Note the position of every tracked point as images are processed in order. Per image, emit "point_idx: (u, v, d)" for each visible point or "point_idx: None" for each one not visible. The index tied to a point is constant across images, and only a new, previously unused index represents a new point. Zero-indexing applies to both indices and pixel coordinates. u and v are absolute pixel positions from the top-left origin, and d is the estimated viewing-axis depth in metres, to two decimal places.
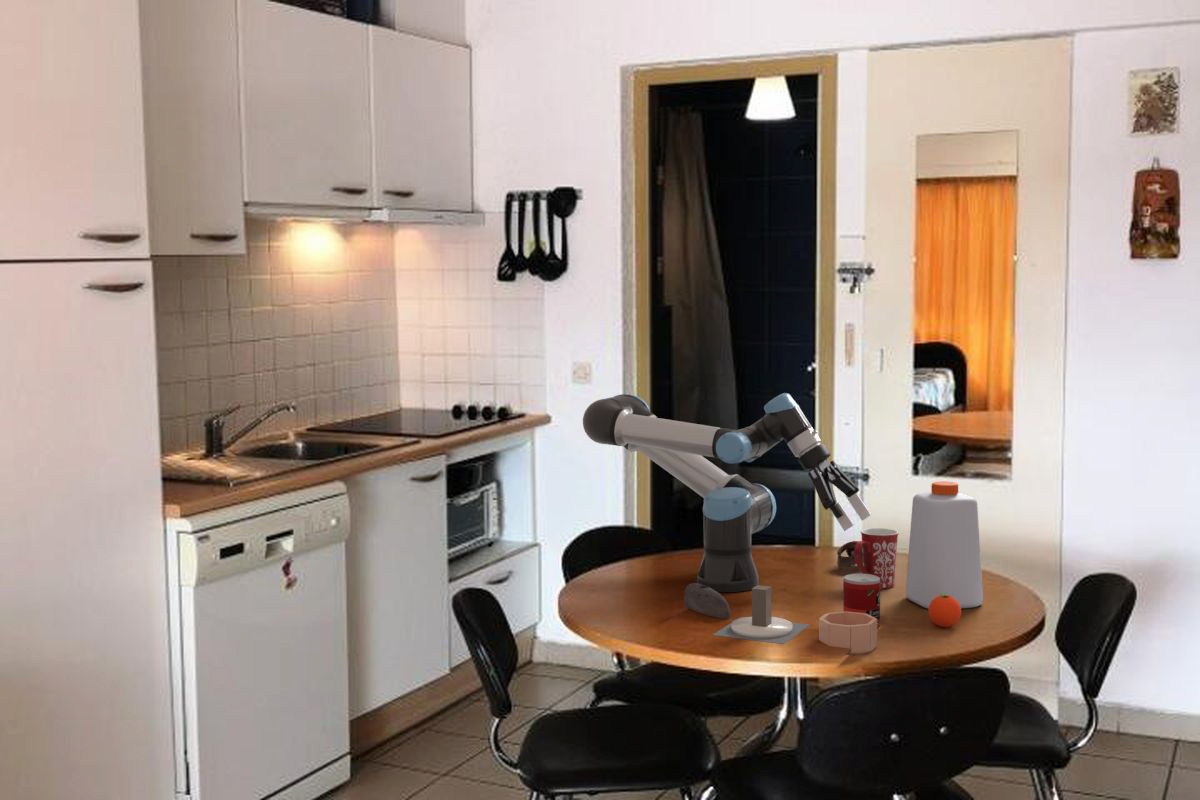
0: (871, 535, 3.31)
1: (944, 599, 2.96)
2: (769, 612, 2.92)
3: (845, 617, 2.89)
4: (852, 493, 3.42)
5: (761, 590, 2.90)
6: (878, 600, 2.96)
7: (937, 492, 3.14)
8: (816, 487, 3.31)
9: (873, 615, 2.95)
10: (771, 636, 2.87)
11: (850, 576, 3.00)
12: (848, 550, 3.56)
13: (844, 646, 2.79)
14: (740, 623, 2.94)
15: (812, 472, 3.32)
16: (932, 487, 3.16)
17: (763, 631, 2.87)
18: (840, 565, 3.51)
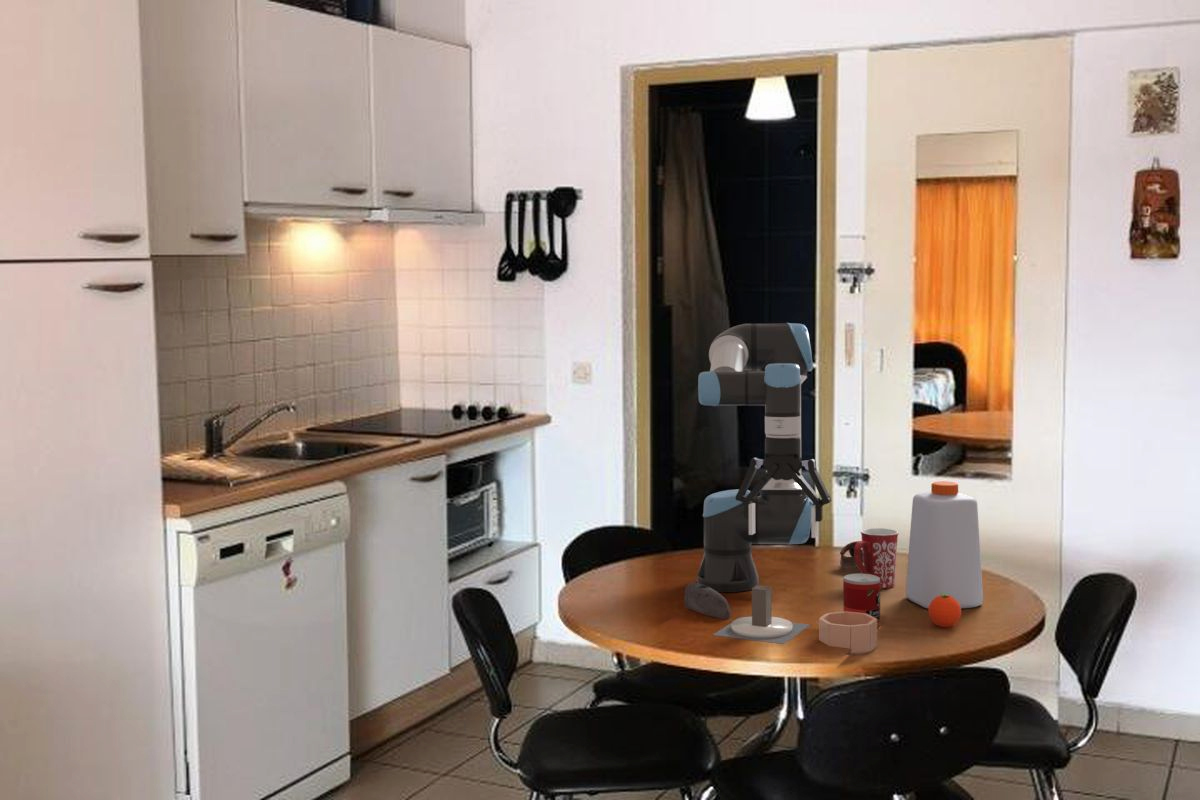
0: (871, 535, 3.31)
1: (944, 599, 2.96)
2: (769, 612, 2.92)
3: (845, 617, 2.89)
4: None
5: (761, 590, 2.90)
6: (878, 600, 2.96)
7: (937, 492, 3.14)
8: None
9: (873, 615, 2.95)
10: (771, 636, 2.87)
11: (850, 576, 3.00)
12: (851, 550, 3.56)
13: (844, 646, 2.79)
14: (740, 622, 2.94)
15: None
16: (932, 487, 3.16)
17: (763, 631, 2.87)
18: (843, 565, 3.51)
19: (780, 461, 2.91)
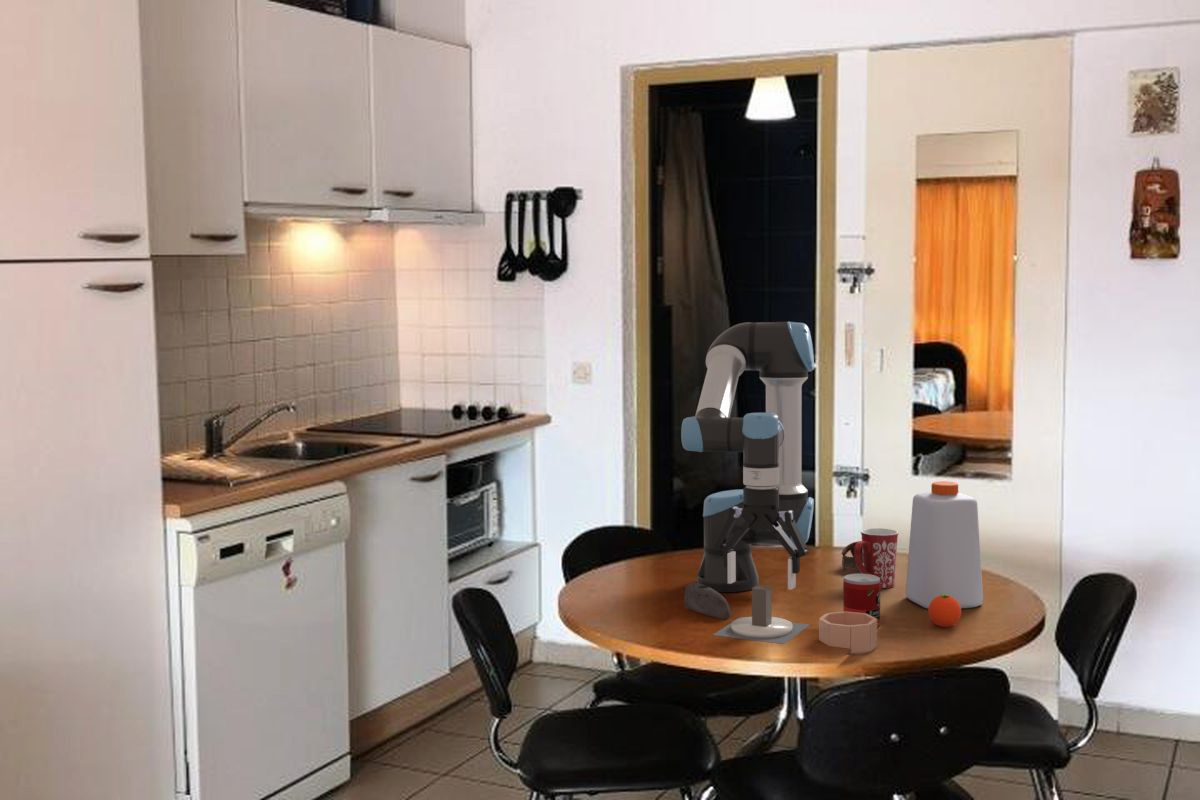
0: (871, 535, 3.31)
1: (944, 599, 2.96)
2: (769, 612, 2.92)
3: (845, 617, 2.89)
4: None
5: (761, 590, 2.90)
6: (878, 600, 2.96)
7: (937, 492, 3.14)
8: None
9: (873, 615, 2.95)
10: (771, 636, 2.87)
11: (850, 576, 3.00)
12: (852, 550, 3.56)
13: (844, 646, 2.79)
14: (740, 622, 2.94)
15: None
16: (932, 487, 3.16)
17: (763, 631, 2.87)
18: (845, 565, 3.51)
19: (758, 511, 2.89)
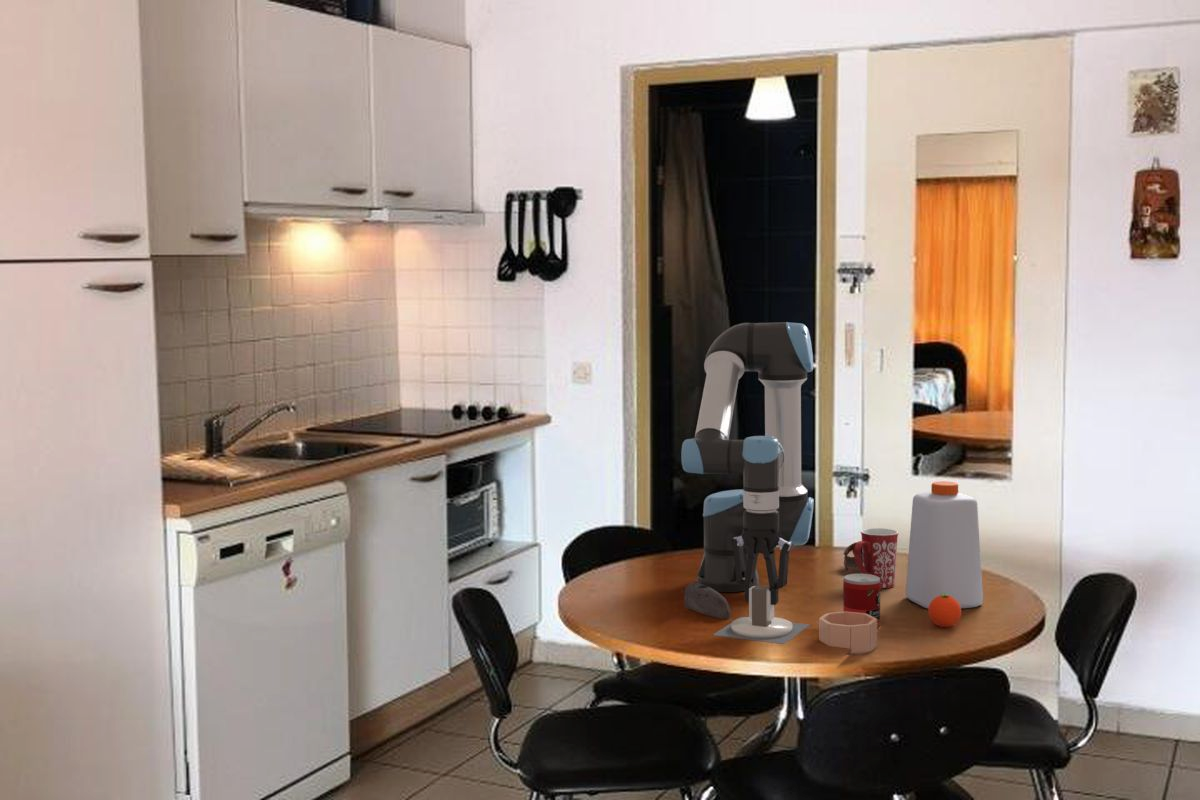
0: (871, 535, 3.31)
1: (944, 599, 2.96)
2: None
3: (845, 617, 2.89)
4: None
5: (761, 590, 2.90)
6: (878, 600, 2.96)
7: (937, 492, 3.14)
8: None
9: (873, 615, 2.95)
10: (771, 636, 2.87)
11: (850, 576, 3.00)
12: None
13: (844, 646, 2.79)
14: (740, 622, 2.94)
15: None
16: (932, 487, 3.16)
17: (763, 631, 2.87)
18: (847, 565, 3.50)
19: (758, 535, 2.90)
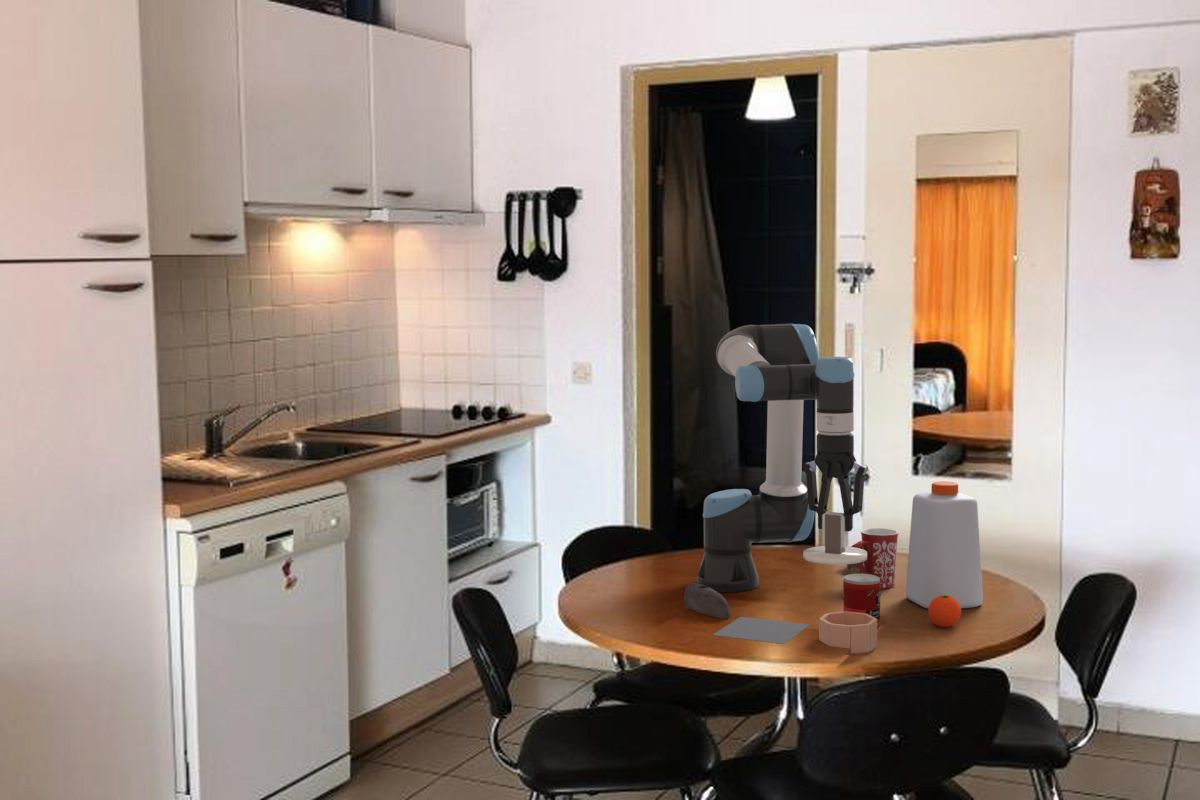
0: (871, 535, 3.31)
1: (944, 599, 2.96)
2: None
3: (845, 617, 2.89)
4: None
5: (835, 516, 2.81)
6: (878, 600, 2.96)
7: (937, 492, 3.14)
8: None
9: (873, 615, 2.95)
10: (846, 562, 2.77)
11: (850, 576, 3.00)
12: None
13: (844, 646, 2.79)
14: (812, 551, 2.84)
15: None
16: (932, 487, 3.16)
17: (837, 557, 2.77)
18: (850, 566, 3.50)
19: (832, 459, 2.80)
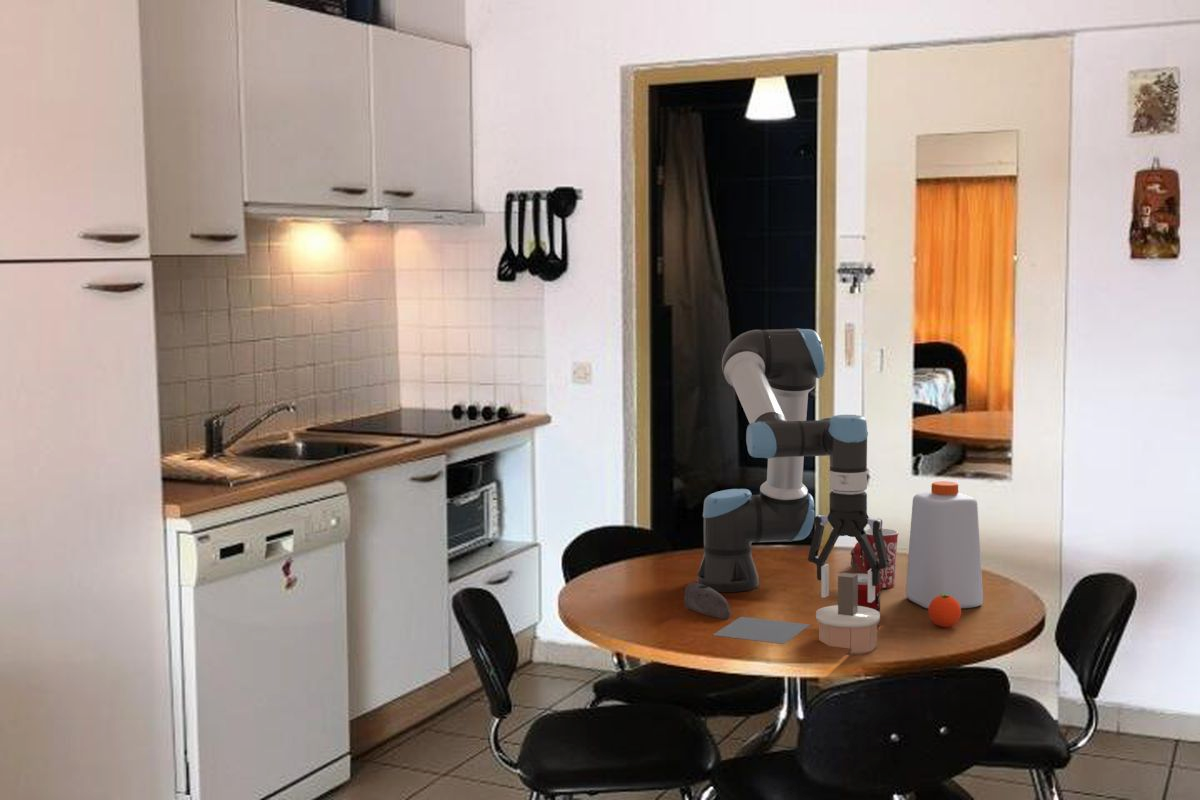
0: (871, 535, 3.31)
1: (944, 599, 2.96)
2: (856, 600, 2.83)
3: None
4: None
5: (848, 578, 2.81)
6: (878, 600, 2.96)
7: (937, 492, 3.14)
8: None
9: None
10: (860, 625, 2.77)
11: None
12: (861, 551, 3.55)
13: (844, 646, 2.79)
14: (825, 611, 2.85)
15: None
16: (932, 487, 3.16)
17: (851, 620, 2.78)
18: (854, 566, 3.50)
19: (845, 517, 2.81)
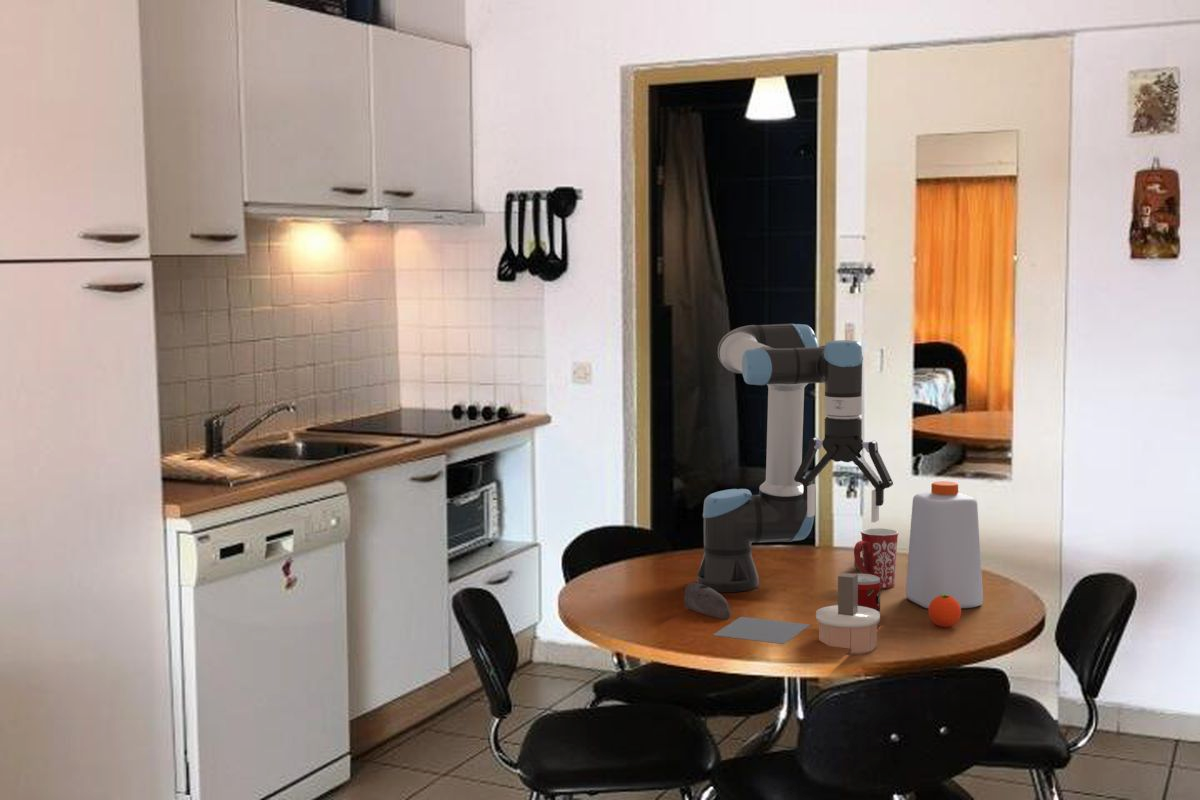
0: (871, 535, 3.31)
1: (944, 599, 2.96)
2: (856, 600, 2.83)
3: None
4: None
5: (848, 578, 2.81)
6: (878, 600, 2.96)
7: (937, 492, 3.14)
8: None
9: None
10: (860, 625, 2.77)
11: None
12: None
13: (844, 646, 2.79)
14: (825, 611, 2.85)
15: None
16: (932, 487, 3.16)
17: (851, 620, 2.78)
18: None
19: (840, 442, 2.80)
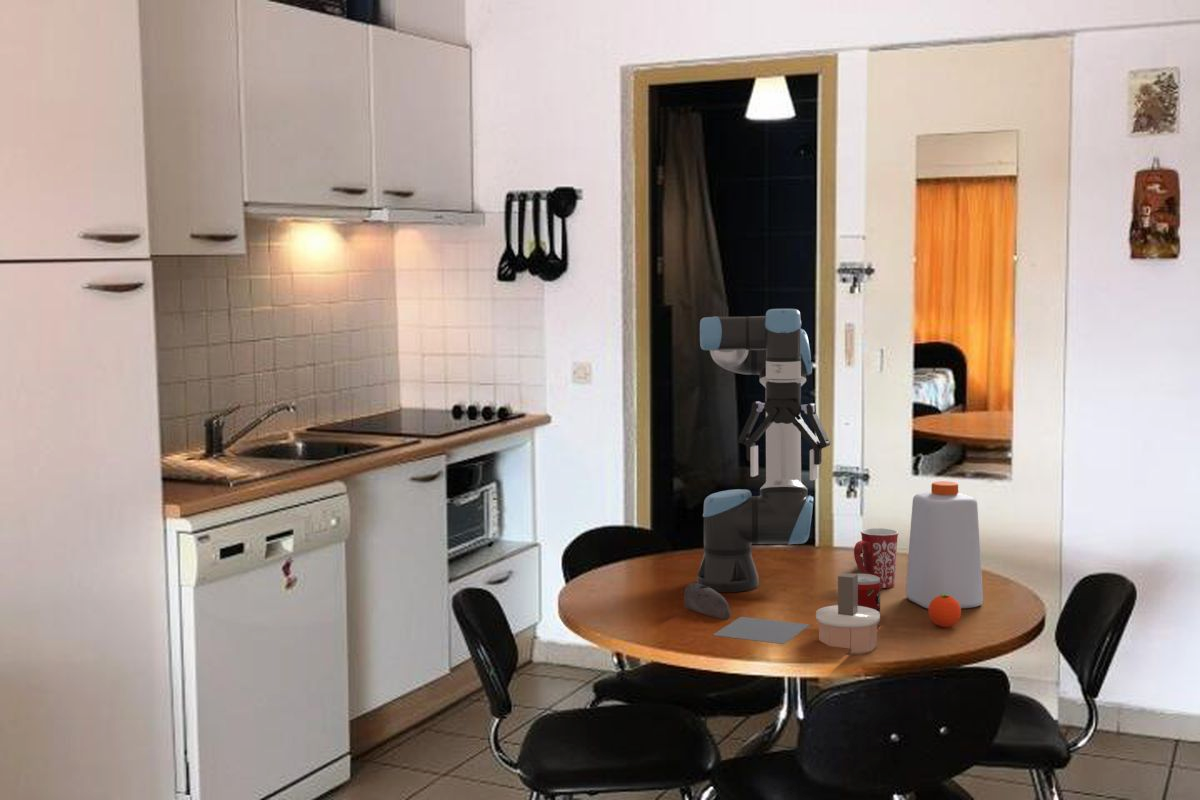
0: (871, 535, 3.31)
1: (944, 599, 2.96)
2: (856, 600, 2.83)
3: None
4: None
5: (848, 578, 2.81)
6: (878, 600, 2.96)
7: (937, 492, 3.14)
8: None
9: None
10: (860, 625, 2.77)
11: None
12: None
13: (844, 646, 2.79)
14: (825, 611, 2.85)
15: None
16: (932, 487, 3.16)
17: (851, 620, 2.78)
18: None
19: (780, 405, 2.96)
